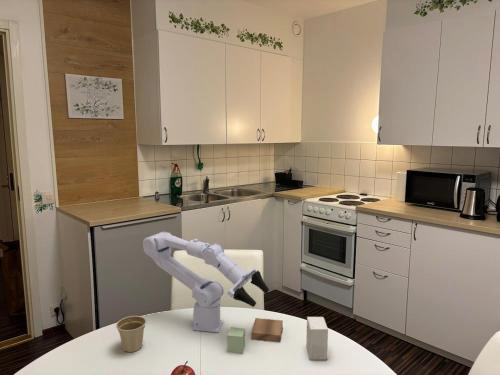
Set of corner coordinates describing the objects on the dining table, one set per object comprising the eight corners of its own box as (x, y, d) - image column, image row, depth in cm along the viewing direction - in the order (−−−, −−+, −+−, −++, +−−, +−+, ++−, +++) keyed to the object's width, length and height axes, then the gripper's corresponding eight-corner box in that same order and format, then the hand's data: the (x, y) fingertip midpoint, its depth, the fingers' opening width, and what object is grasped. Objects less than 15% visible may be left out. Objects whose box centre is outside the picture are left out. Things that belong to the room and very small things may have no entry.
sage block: (227, 352, 122) (227, 335, 121) (230, 343, 127) (230, 327, 126) (242, 353, 121) (242, 336, 120) (245, 344, 126) (245, 328, 125)
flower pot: (112, 347, 124) (110, 323, 123) (137, 335, 131) (136, 312, 129) (126, 359, 118) (125, 333, 116) (152, 346, 125) (151, 322, 123)
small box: (327, 360, 118) (328, 329, 116) (309, 360, 118) (310, 329, 116) (322, 345, 126) (324, 316, 124) (306, 345, 126) (306, 316, 124)
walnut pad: (251, 340, 129) (251, 332, 129) (255, 325, 139) (255, 318, 138) (280, 343, 128) (280, 335, 127) (282, 328, 137) (282, 320, 137)
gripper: (221, 276, 122) (252, 305, 118) (247, 253, 132) (277, 279, 128) (215, 287, 126) (245, 316, 123) (241, 265, 137) (270, 290, 133)
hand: (261, 298), depth 126 cm, fingers open, 7 cm apart
